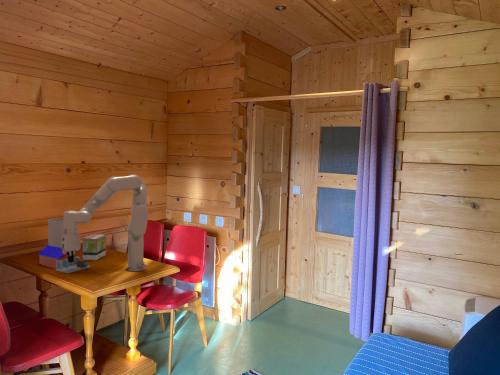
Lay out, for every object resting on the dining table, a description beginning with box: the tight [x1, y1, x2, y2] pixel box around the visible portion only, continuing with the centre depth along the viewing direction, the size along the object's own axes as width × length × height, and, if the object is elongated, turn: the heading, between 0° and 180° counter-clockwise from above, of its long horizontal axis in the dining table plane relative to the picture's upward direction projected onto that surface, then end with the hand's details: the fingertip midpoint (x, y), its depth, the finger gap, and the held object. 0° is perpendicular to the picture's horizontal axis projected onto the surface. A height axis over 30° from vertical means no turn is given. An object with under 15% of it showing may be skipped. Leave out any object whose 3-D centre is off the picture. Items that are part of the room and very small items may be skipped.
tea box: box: [82, 234, 107, 261], centre depth 267 cm, size 15×10×15 cm, turn 179°
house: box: [38, 245, 76, 269], centre depth 246 cm, size 12×20×12 cm, turn 61°
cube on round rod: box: [75, 258, 89, 268], centre depth 241 cm, size 10×4×4 cm, turn 61°
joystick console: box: [54, 256, 91, 274], centre depth 239 cm, size 11×16×5 cm
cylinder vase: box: [47, 217, 64, 248], centre depth 270 cm, size 12×12×25 cm
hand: (70, 261), depth 234 cm, fingers closed
